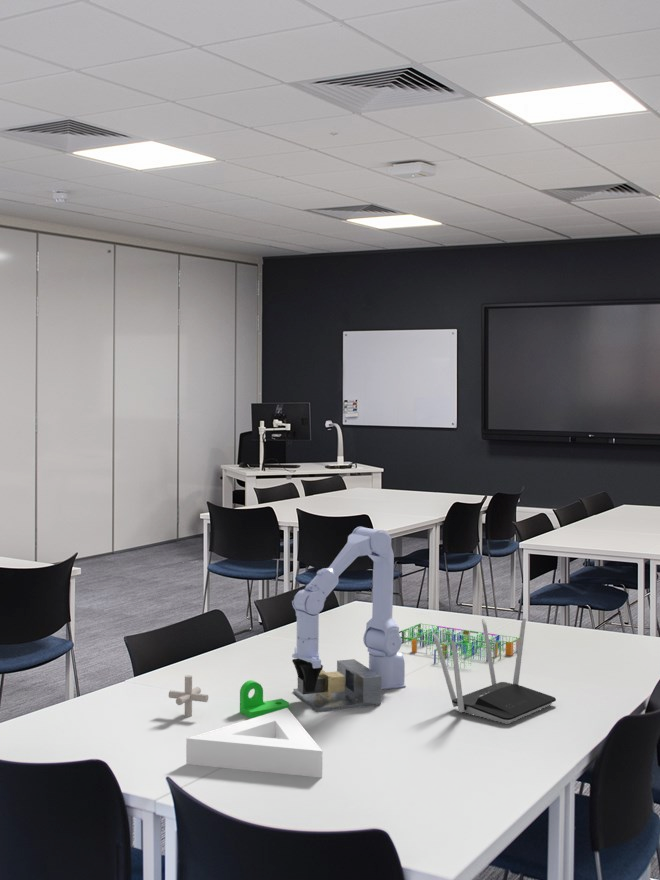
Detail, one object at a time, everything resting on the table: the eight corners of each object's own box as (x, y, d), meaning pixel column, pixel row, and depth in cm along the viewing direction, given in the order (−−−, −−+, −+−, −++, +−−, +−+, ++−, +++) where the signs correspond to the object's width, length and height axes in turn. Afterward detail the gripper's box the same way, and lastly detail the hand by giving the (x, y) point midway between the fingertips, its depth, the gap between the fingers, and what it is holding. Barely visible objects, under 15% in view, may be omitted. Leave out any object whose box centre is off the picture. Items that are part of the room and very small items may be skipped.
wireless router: (496, 733, 236) (497, 649, 235) (418, 711, 252) (419, 633, 251) (567, 702, 261) (568, 626, 260) (492, 684, 276) (493, 612, 276)
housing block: (353, 686, 273) (354, 659, 273) (381, 705, 257) (381, 676, 256) (293, 692, 267) (293, 664, 267) (317, 712, 250) (317, 682, 250)
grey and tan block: (334, 687, 266) (334, 665, 266) (347, 697, 258) (347, 674, 258) (294, 692, 262) (294, 669, 262) (306, 701, 254) (306, 678, 254)
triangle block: (322, 781, 207) (322, 751, 207) (197, 794, 199) (197, 763, 199) (287, 734, 236) (287, 707, 235) (176, 744, 228) (176, 716, 228)
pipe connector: (215, 712, 249) (215, 672, 249) (197, 724, 240) (197, 683, 239) (179, 708, 253) (179, 669, 252) (160, 720, 243) (160, 679, 243)
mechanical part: (250, 720, 244) (251, 688, 244) (239, 713, 249) (239, 681, 249) (293, 712, 251) (293, 681, 250) (281, 706, 256) (281, 675, 255)
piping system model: (520, 652, 314) (520, 637, 314) (481, 673, 289) (481, 657, 289) (421, 637, 333) (421, 622, 332) (376, 655, 308) (377, 640, 308)
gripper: (283, 631, 263) (283, 682, 264) (302, 644, 250) (302, 698, 250) (308, 629, 266) (308, 680, 266) (328, 642, 252) (328, 695, 253)
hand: (307, 688), depth 259 cm, fingers closed on grey and tan block, 4 cm apart
